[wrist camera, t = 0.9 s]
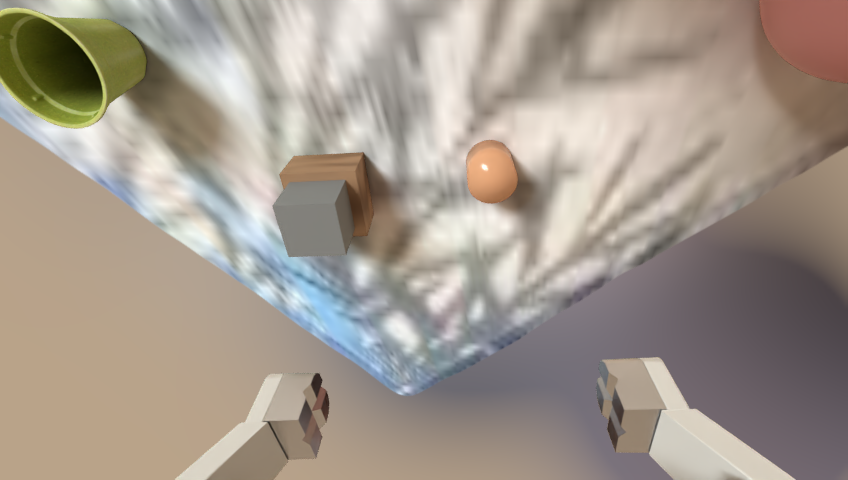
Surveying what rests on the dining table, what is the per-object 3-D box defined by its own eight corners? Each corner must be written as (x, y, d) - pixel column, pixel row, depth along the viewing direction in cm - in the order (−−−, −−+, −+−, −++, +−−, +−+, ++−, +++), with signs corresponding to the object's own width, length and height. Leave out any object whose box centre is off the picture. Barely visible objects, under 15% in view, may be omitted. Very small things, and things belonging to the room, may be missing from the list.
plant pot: (113, 112, 45) (49, 141, 38) (44, 19, 40) (-45, 33, 33) (183, 84, 43) (130, 109, 35) (119, -17, 38) (42, -12, 31)
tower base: (294, 155, 47) (279, 174, 43) (363, 151, 46) (355, 170, 42) (310, 215, 51) (298, 238, 47) (373, 213, 51) (367, 235, 46)
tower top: (289, 182, 43) (272, 206, 39) (345, 179, 43) (334, 203, 38) (302, 230, 46) (288, 257, 42) (355, 228, 46) (346, 255, 42)
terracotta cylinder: (465, 141, 45) (467, 160, 40) (512, 138, 44) (518, 157, 40) (466, 183, 47) (468, 204, 43) (510, 180, 47) (516, 202, 43)
